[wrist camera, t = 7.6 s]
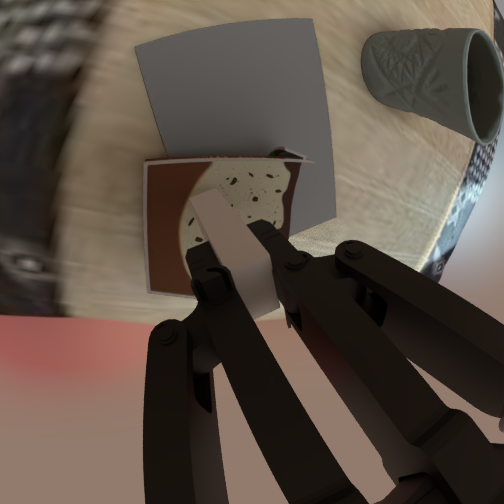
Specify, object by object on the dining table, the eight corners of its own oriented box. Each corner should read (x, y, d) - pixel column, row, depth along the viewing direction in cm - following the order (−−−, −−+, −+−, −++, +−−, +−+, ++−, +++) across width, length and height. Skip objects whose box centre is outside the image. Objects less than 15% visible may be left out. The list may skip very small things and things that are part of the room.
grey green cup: (418, 106, 24) (504, 136, 15) (361, 120, 23) (467, 158, 14) (406, 27, 18) (500, 38, 9) (342, 24, 17) (458, 19, 7)
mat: (208, 267, 25) (210, 269, 25) (134, 47, 13) (134, 46, 13) (334, 215, 28) (336, 216, 28) (309, 19, 16) (312, 18, 15)
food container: (156, 262, 24) (261, 266, 27) (149, 308, 19) (277, 309, 22) (160, 125, 18) (286, 138, 20) (145, 135, 13) (317, 153, 15)
